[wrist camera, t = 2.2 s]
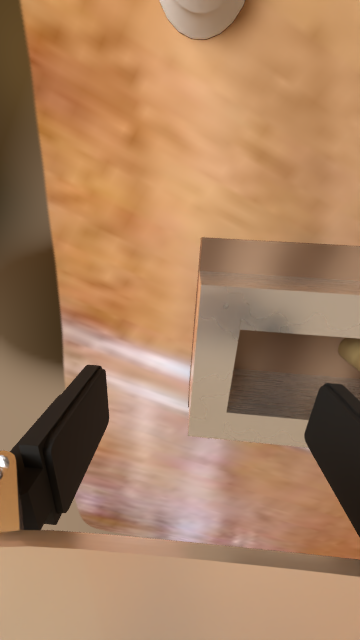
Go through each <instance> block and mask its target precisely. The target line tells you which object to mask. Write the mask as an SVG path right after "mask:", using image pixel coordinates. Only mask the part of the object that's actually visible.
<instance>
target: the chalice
mask: <svg viewBox="0 0 360 640" xmlns="http://www.w3.org/2000/svg"><path fill="white" fill-rule="evenodd" d="M244 2H245V0H160V3H161V5H162V8H163V10H164V12H165V14H166V16H167V18H168V20H169V21H170V22H171V23H172V25H173V26H174V27H175V28H176V29H177V30H178V31H179V32H180V33H182V34H184V35H186V36H188V37H190V38H192V39H208V38H210V37H213V36H215V35H218V34H220V33H221V32H222V31H223V30H225V29H226V28H227V27H228V26H229V25H230V24H231V23H233V21H234V19H235V18H236V16H237V15H238V13H239V12H240V10H241V8H242V7H243V5H244Z"/></svg>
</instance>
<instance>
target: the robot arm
mask: <svg viewBox="0 0 360 640" xmlns="http://www.w3.org/2000/svg"><path fill="white" fill-rule="evenodd" d="M108 422H109V409H108V396H107V383H106V371H105V370H104V369H102V367H101V366H97V365H87V366H85V368H84V369H83V370H82V371H81V372H80V373H79V374H78V376H77V377H76V378H75V379H74V380H73V381H72V383H71V384H70V385H69V386H68V387H67V388H66V390H65V391H64V392H63V393H62V394H61V395H59V396H58V397H57V398H56V399H55V401H54V402H53V403H52V404H51V405H50V406H49V407H48V409H47V410H46V411H45V412H44V413H43V414H42V415H41V417H40V418H39V419H38V420H37V421H36V422H35V423H34V425H33V426H32V427H31V428H30V429H29V430H28V431H27V433H26V434H25V435H24V436H23V437H22V438H21V439H20V441H19V442H18V443H17V444H16V445H15V446H14V448H13V449H12V450H11V451H5V450H1V451H0V640H360V560H357V559H348V558H339V557H330V556H320V555H311V554H301V553H292V552H282V551H272V550H262V549H253V548H243V547H233V546H223V545H213V544H203V543H193V542H182V541H172V540H161V539H151V538H140V537H130V536H118V535H109V534H94V533H81V532H68V531H54V530H41V528H42V526H43V524H52V525H56V524H57V522H58V520H59V518H60V516H61V514H62V513H66V512H67V511H68V509H69V507H70V505H71V503H72V501H73V499H74V497H75V494H76V492H77V490H78V488H79V486H80V484H81V482H82V479H83V477H84V475H85V473H86V471H87V469H88V466H89V464H90V462H91V460H92V458H93V456H94V453H95V451H96V449H97V447H98V445H99V443H100V441H101V438H102V436H103V434H104V432H105V430H106V428H107V425H108ZM304 438H305V442H306V444H307V446H308V447H309V449H310V451H311V453H312V454H313V456H314V458H315V460H316V461H317V463H318V465H319V467H320V468H321V470H322V472H323V474H324V475H325V477H326V479H327V481H328V483H329V484H330V486H331V488H332V490H333V491H334V493H335V495H336V497H337V498H338V500H339V502H340V504H341V505H342V507H343V509H344V511H345V513H346V514H347V516H348V518H349V520H350V521H351V523H352V525H353V527H354V528H355V530H356V532H357V534H358V535H359V537H360V401H359V400H358V399H357V398H356V397H355V396H354V395H353V394H352V393H351V392H350V391H349V390H348V389H347V388H346V387H345V386H343V385H342V384H334V383H325V384H324V385H323V386H321V387H320V388H319V391H318V394H317V397H316V400H315V403H314V406H313V409H312V412H311V415H310V418H309V421H308V424H307V427H306V430H305V433H304Z"/></svg>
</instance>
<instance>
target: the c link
mask: <svg viewBox="0 0 360 640" xmlns="http://www.w3.org/2000/svg"><path fill="white" fill-rule="evenodd" d="M240 330H251V331H265V332H278V333H292V334H305V335H318V336H332V337H345V338H359V339H360V281H352V280H336V279H320V278H304V277H288V276H272V275H256V274H240V273H224V272H208V271H199V283H198V295H197V307H196V319H195V331H194V343H193V355H192V367H191V380H190V396H189V422H188V436H194V437H204V438H214V439H224V440H235V441H245V442H255V443H265V444H276V445H286V446H296V447H306V448H309V447H308V446H307V444H306V442H305V438H304V433H305V430H306V427H307V424H308V421H309V418H310V415H311V412H312V409H313V406H314V403H315V400H316V397H317V394H318V391H319V388H320V387H321V386H323V385H324V384H325V383H334V384H342V385H343V386H345V387H346V388H347V389H348V390H349V391H350V392H351V393H352V394H353V395H354V396H355V397H356V398H357V399H358V400H359V401H360V379H352V378H340V377H328V376H316V375H304V374H292V373H280V372H268V371H255V370H243V369H234V363H235V357H236V351H237V345H238V338H239V332H240Z"/></svg>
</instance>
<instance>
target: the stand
mask: <svg viewBox="0 0 360 640" xmlns="http://www.w3.org/2000/svg"><path fill="white" fill-rule="evenodd" d="M199 271H208V272H224V273H240V274H256V275H272V276H288V277H304V278H320V279H336V280H352V281H360V246H347V245H329V244H311V243H293V242H275V241H257V240H239V239H221V238H203V237H202V238H201V246H200V258H199V270H198V282H197V295H198V283H199ZM197 295H196V307H197ZM196 307H195V319H196ZM195 319H194V331H195ZM193 343H194V332H193ZM192 355H193V344H192ZM191 367H192V356H191ZM234 369H243V370H255V371H268V372H280V373H292V374H304V375H316V376H328V377H340V378H352V379H360V339H359V338H345V337H332V336H318V335H305V334H292V333H278V332H265V331H251V330H240V332H239V338H238V345H237V351H236V357H235V363H234ZM190 380H191V369H190ZM189 396H190V381H189ZM188 407H189V401H188Z"/></svg>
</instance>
